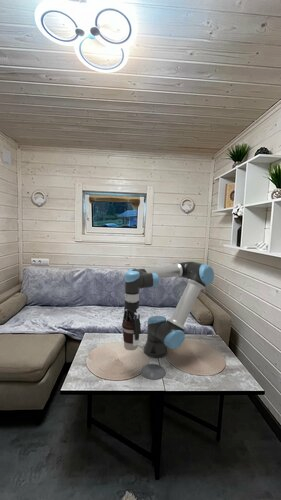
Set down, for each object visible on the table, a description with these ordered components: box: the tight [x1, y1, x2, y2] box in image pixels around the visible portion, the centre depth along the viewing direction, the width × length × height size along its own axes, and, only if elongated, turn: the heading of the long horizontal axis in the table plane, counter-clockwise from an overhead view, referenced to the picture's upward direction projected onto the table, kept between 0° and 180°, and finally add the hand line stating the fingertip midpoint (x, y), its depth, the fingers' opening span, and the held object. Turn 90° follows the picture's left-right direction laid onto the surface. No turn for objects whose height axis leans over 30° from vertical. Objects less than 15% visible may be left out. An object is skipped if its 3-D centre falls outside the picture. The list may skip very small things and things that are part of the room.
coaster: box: [140, 363, 167, 381], centre depth 139 cm, size 14×14×1 cm
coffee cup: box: [121, 319, 142, 351], centre depth 133 cm, size 10×10×15 cm
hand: (131, 340), depth 134 cm, fingers closed on coffee cup, 10 cm apart
